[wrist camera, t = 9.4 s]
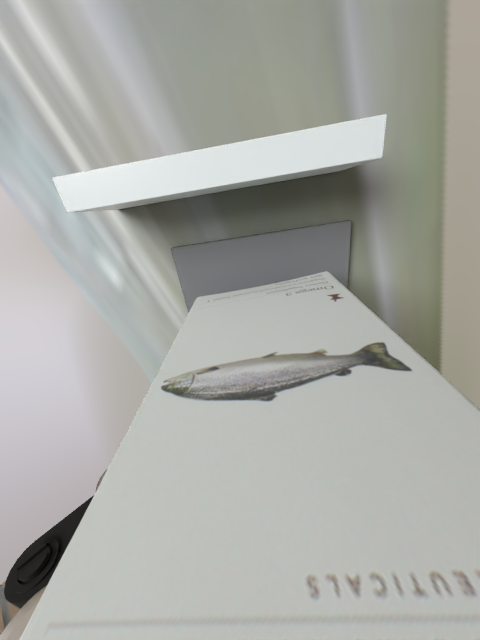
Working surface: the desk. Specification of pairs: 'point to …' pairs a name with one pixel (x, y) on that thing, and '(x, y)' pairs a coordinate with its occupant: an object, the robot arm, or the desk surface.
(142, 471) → the supplement box
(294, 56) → the desk surface
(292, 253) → the charcoal mat
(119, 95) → the desk surface
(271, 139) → the frosted wall
